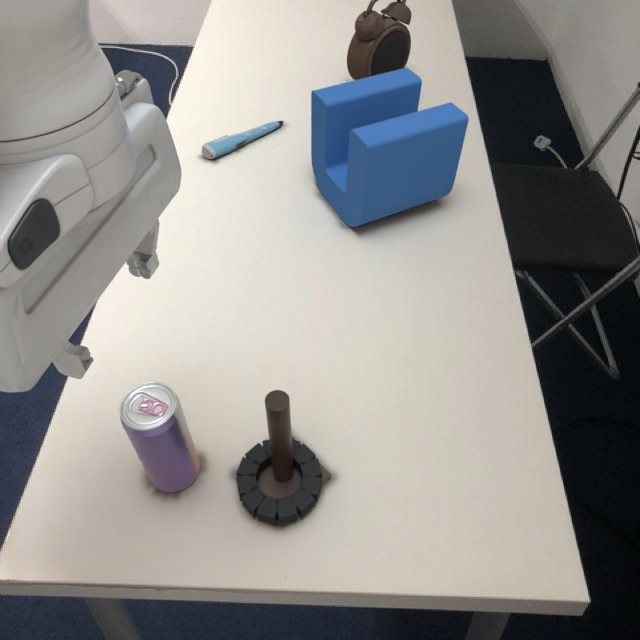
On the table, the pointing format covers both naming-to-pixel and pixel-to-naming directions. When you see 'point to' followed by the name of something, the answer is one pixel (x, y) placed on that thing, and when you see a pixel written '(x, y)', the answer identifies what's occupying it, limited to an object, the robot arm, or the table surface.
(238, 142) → the pen
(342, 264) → the table surface
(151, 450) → the beverage can
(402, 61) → the alarm clock
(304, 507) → the ring
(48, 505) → the table surface
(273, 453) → the post
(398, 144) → the block
